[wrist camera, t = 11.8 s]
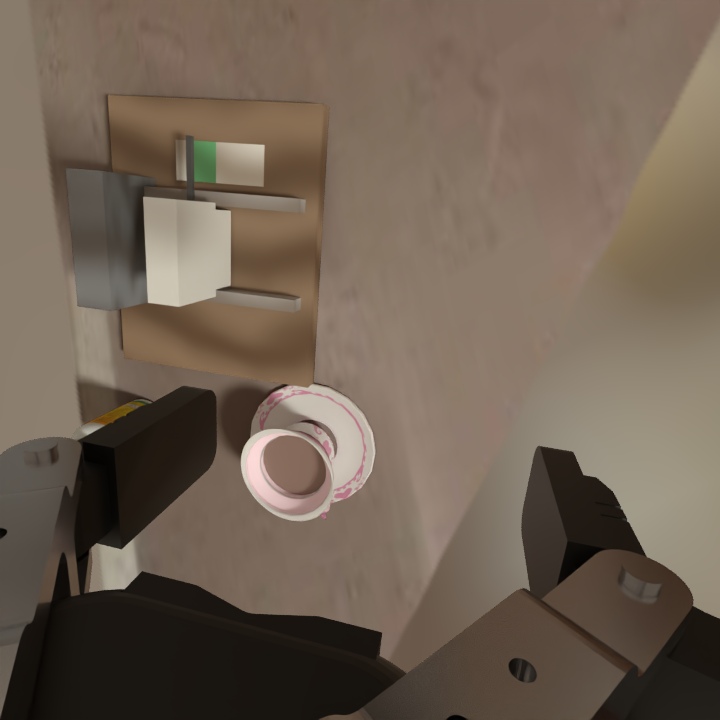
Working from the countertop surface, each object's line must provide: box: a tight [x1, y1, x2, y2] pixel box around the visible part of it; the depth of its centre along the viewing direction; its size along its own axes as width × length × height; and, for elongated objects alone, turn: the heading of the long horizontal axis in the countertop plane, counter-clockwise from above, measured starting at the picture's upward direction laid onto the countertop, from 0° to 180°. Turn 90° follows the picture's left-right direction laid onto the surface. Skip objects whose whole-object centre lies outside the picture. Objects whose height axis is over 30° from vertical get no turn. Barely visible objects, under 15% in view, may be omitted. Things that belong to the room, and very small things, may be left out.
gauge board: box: [66, 95, 329, 388], centre depth 38 cm, size 22×18×8 cm
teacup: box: [241, 383, 376, 521], centre depth 42 cm, size 12×12×6 cm
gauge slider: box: [143, 135, 231, 307], centre depth 35 cm, size 12×4×8 cm, turn 175°
